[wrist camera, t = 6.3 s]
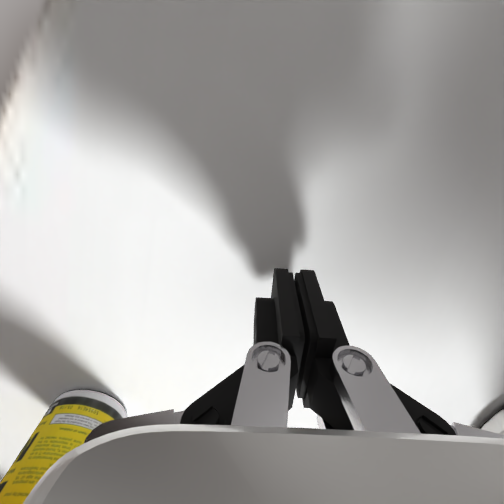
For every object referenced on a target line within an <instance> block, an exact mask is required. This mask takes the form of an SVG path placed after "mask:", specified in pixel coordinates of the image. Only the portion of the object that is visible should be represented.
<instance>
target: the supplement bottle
mask: <svg viewBox="0 0 504 504" xmlns="http://www.w3.org/2000/svg"><path fill="white" fill-rule="evenodd" d="M121 418H127V413H126V411H125V409H124V407H123V406H122V405H121V404H120V403H119V402H118V401H117V400H115V399H114V398H112V397H110V396H108V395H106V394H103V393H100V392H97V391H91V390H73V391H69V392H66V393H64V394H62V395H60V396H59V397H58V398H56V400H55V401H54V402H53V403H52V405H51V406H50V408H49V409H48V411H47V412H46V414H45V415H44V417H43V419H42V420H41V422H40V423H39V425H38V426H37V428H36V429H35V431H34V432H33V434H32V435H31V437H30V438H29V440H28V441H27V443H26V444H25V446H24V447H23V449H22V450H21V452H20V453H19V455H18V457H17V458H16V460H15V461H14V463H13V464H12V466H11V468H10V469H9V471H8V472H7V474H6V475H5V476H4V478H3V480H2V481H1V483H0V504H23V502H24V501H25V499H26V498H27V496H28V495H29V494H30V492H31V491H32V489H33V488H34V487H35V485H36V484H37V483H38V481H39V480H40V479H41V478H42V476H43V475H44V474H45V473H46V471H47V470H48V469H49V468H50V467H51V466H52V465H53V464H54V463H55V462H56V461H57V460H58V459H60V458H61V457H62V456H64V455H65V454H66V453H68V452H69V451H71V450H73V449H74V448H76V447H78V446H80V445H82V444H84V441H85V439H86V437H87V436H88V435H89V434H90V432H91V431H92V430H93V429H94V428H96V427H97V426H99V425H100V424H102V423H105V422H107V421H110V420H116V419H121Z"/></svg>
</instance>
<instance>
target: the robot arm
mask: <svg viewBox="0 0 504 504" xmlns="http://www.w3.org/2000/svg"><path fill="white" fill-rule="evenodd" d="M295 390H297V396H298V398H302V399H303V405H304V408H311V409H312V410H313V411H314V412H315V413H316V414H317V422H318V426H319V428H320V429H311V428H287V419H288V411H289V410H290V409H291V408H292V404H293V399H294V395H295ZM23 504H504V409H503V410H501V411H500V412H498V413H497V414H495V415H494V416H493V417H492V418H491V419H490V420H489V421H488V422H486V423H485V424H484V425H483V427H482V428H481V429H479V428H475V427H471V426H467V425H463V424H459V423H455V422H453V424H452V425H449V424H448V423H447V422H446V421H445V420H444V419H443V418H441V417H440V416H439V415H437V414H436V413H434V412H433V411H431V410H430V409H428V408H427V407H425V406H423V405H422V404H420V403H419V402H417V401H416V400H414V399H413V398H411V397H410V396H408V395H407V394H405V393H404V392H402V391H401V390H399V389H398V388H396V387H395V386H393V385H391V384H390V383H389V382H388V380H387V379H386V377H385V375H384V374H383V372H382V371H381V369H380V367H379V366H378V364H377V363H376V361H375V360H374V359H373V357H372V356H371V355H370V354H369V353H367V352H366V351H364V350H362V349H360V348H358V347H354V346H350V345H349V343H348V340H347V337H346V335H345V332H344V329H343V327H342V324H341V321H340V319H339V316H338V313H337V311H336V308H335V305H334V303H333V302H332V301H324V299H323V296H322V293H321V290H320V287H319V284H318V281H317V277H316V274H315V272H314V270H300V273H296V274H295V279H294V278H293V273H290V272H288V269H278V268H275V269H274V275H273V285H272V294H271V298H256V302H255V315H254V345H253V346H252V347H251V348H250V349H249V351H248V353H247V357H246V361H245V365H243V366H242V367H241V368H239V369H238V370H237V371H235V372H234V373H233V374H231V375H230V376H228V377H227V378H226V379H224V380H223V381H222V382H220V383H219V384H218V385H216V386H215V387H214V388H212V389H211V390H209V391H208V392H207V393H205V394H204V395H203V396H201V397H200V398H199V399H197V400H196V401H195V402H193V403H192V404H191V405H190V406H189V407H188V408H187V409H186V410H185V411H181V412H175V413H174V409H172V410H167V411H161V412H155V413H150V414H144V415H138V416H133V417H127V418H121V419H116V420H110V421H107V422H105V423H102V424H100V425H99V426H97V427H96V428H94V429H93V430H92V431H91V432H90V434H89V435H88V436H87V437H86V439H85V441H84V444H82V445H80V446H78V447H76V448H74V449H73V450H71V451H69V452H68V453H66V454H65V455H64V456H62V457H61V458H60V459H58V460H57V461H56V462H55V463H54V464H53V465H52V466H51V467H50V468H49V469H48V470H47V471H46V473H45V474H44V475H43V476H42V478H41V479H40V480H39V481H38V483H37V484H36V485H35V487H34V488H33V489H32V491H31V492H30V494H29V495H28V496H27V498H26V499H25V501H24V502H23Z"/></svg>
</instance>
